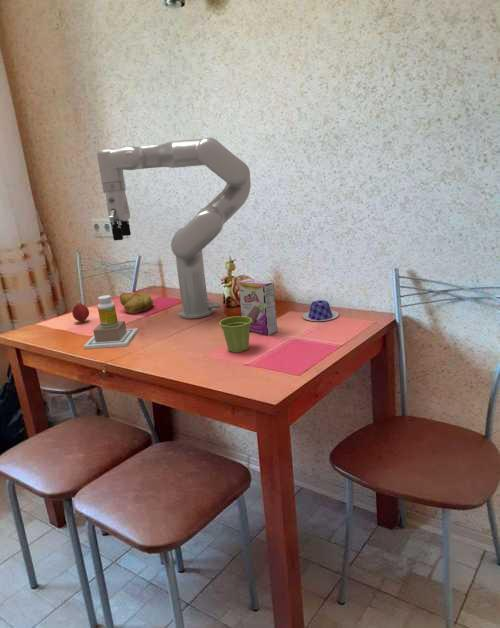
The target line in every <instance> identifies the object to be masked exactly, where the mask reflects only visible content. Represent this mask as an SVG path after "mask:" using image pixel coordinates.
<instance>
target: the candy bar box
mask: <svg viewBox="0 0 500 628" xmlns="http://www.w3.org/2000/svg"><path fill="white" fill-rule="evenodd" d="M237 285H238V293H239V294H238V295H239V304H240V305H239V306H240V313H241V316H245V317H249V318H251V319H252V322H251V324H250V330H249V333H255V334H259V335H263V336H267V337H269V336H271V335H273V334H275V333H277V332H278V321H277V320H278V319H277V311H276V310H277V309H276V296H275V284H274V281H268V280H261V279H260V280H259V279H253V278H245V279H241V280H239V281H238V282H237Z"/></svg>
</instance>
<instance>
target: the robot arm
mask: <svg viewBox="0 0 500 628" xmlns="http://www.w3.org/2000/svg"><path fill="white" fill-rule="evenodd" d="M96 158H97V162H98V163H97V164H98V169H99V175H100V180H101V186H102V192H103V194H105V199H106V207H107V208H106V209H107V214H108V219H109V221H110V222H109V223H110V225H111V226H110V228H111V233H112V238H113V241H114V242H115V241H122V240H124V237H126V236H131V233H132V231H131V227H130V226H131V225H130V220H129V219H130V218H131V212H130V207H129V202H128V197H127V194H126V191H127V188H126V182H125V175H124V171H134V170H135V171H136V170H143V169H154V168H155V169H156V168H170V169H175V168H176V169H177V168H186V167H187V168H188V167H199V166H205V167H207V169H208V170H209V171H211V172H213V173H214V174H215V175H216V176H217V177H218V178H220V179H221V180H223V181H224V182H225V183H226V184H225V187H224V188H223V189H222V190H221V192H219V193H218V194H217V195H216V197H214V199H213V200H211V201H210V202H209V203H208V204H207V205H206V206H204V207H203V208H202V209H200V210H199V211H198V212H197V214H196V215H195V216H194V217H193V218H192V219H191V220H190V221H189V222H187V224H186V225H184V227H181V228H179V229H178V230H177V231H176V232H175V233H174V235H173V236H172V238H171V243H170V247H171V251H172V253H173V254H174V256H175V262H176V269H177V279H178V286H179V292H180V293H179V294H180V299H181V300H180V301H181V307H182V308H181V310H180V311H179V312H178V317H180V318H182V319H186V320H189V319H190V320H193V319H201V318H205V317H208V316H210V315H212V314H213V313H214V309H221V302H218V301H214V302H212V301H210V300H211V299H210V298H208V291H207V283H206V281H207V280H206V275H205V273H206V272H205V264H204V255H203V249H204V248H206V246H208V245H209V244H210V243H211V242H213V240H214V239H215V238H217V237H218V235H219V234H220V233H221V232H222V230H223V228H224V225H225V224H226V222H228V220H230V219H231V218H232V217H233V216H234V215H235V214H236V213H237V212H238V211H239V210H240V209H242V206H244V204H245V203H246V201H247V199H248V198H249V195H250V192H251V185H252V184H251V183H252V182H251V171H250V168H249V166H248V165H247V164H246V162H244V161H243V160H241V159H240V158H239V157H238V156H236V155H235V154H234V153H233V152H232V151H230V150H229V149H228V148H226V147H225V146H224V145H223V144H222V143H221V142H219V140H217V139H216V138H215V137H204V138H196V139H185V140H184V139H183V140H173V141H167V142H166V143H161V144H155V145H154V144H153V145H140V146H133V145H132V146H131V145H130V146H125V147H120V148H107V149H101V150H98V151H97V153H96Z"/></svg>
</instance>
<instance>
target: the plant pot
mask: <svg viewBox="0 0 500 628" xmlns="http://www.w3.org/2000/svg"><path fill="white" fill-rule="evenodd" d="M251 322H252V319H251V318H249V317H245V316H242V315H241V316H240V315H239V316H229V317H226V318H223V319H221V320H220V321H219V326H220V327H221V330H223V331H222V332H223V335H224V338H225V343H226V346H227V350H228V351H229V352H230V351H231V352H232V353H242V352H244V351H246V350H247V351H248V349H249V348H250V347H249V346H250V331H249V330H250V324H251Z"/></svg>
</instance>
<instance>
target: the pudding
mask: <svg viewBox="0 0 500 628" xmlns="http://www.w3.org/2000/svg"><path fill="white" fill-rule="evenodd" d="M310 303H311V304H310V306H309V311H307V312H305V313H303V314H302V318H303V319H305V320H308V321H312V322H324V321H331V320H334V319H336V318H338V316H339V315H340V314H339V313H338V312H337V311H335V310H333V309H331V306H330V303H329V301H327V300H322V299H321V300H320V299H319V300H314V301H312V302H310Z"/></svg>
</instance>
